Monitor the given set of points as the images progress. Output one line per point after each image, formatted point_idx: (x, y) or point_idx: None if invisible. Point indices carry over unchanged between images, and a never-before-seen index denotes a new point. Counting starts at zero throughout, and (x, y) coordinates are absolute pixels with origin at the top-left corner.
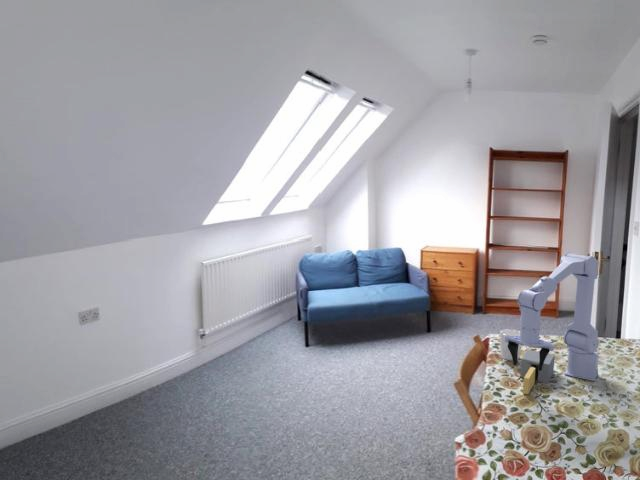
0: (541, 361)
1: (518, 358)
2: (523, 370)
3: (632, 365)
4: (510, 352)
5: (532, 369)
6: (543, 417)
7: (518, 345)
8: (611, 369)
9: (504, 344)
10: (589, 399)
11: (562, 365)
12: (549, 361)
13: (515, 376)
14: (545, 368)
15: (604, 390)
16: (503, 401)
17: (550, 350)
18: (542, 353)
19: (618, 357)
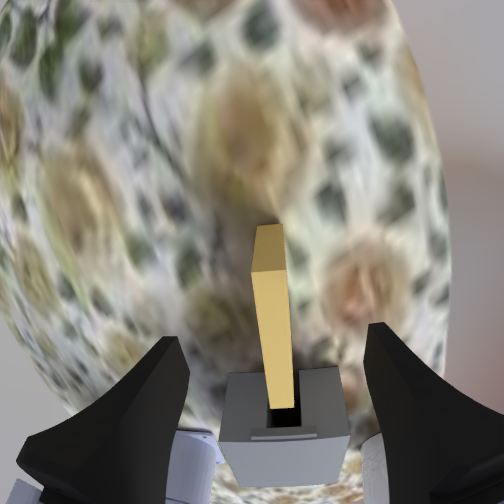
0: (120, 394)
1: (362, 447)
2: (330, 392)
3: None
4: (465, 395)
5: (276, 390)
6: (117, 54)
7: (370, 483)
8: None
9: None
10: (79, 328)
11: None
12: (230, 458)
13: (356, 360)
14: (235, 423)
15: (93, 392)
16: (338, 73)
17: (29, 489)
18: (48, 457)
19: None
